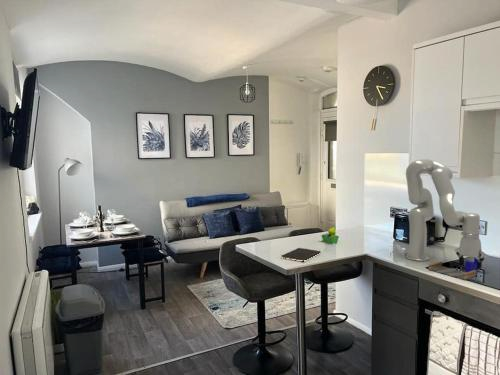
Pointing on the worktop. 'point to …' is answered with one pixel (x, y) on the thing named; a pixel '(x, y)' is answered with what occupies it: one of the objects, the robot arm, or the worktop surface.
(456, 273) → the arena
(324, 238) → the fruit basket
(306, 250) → the dark spiral notebook
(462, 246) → the robot arm
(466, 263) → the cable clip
